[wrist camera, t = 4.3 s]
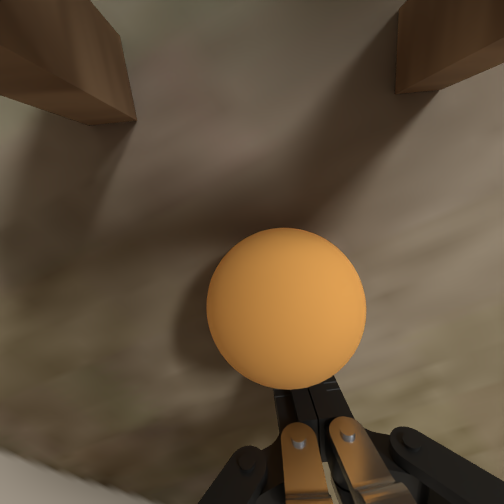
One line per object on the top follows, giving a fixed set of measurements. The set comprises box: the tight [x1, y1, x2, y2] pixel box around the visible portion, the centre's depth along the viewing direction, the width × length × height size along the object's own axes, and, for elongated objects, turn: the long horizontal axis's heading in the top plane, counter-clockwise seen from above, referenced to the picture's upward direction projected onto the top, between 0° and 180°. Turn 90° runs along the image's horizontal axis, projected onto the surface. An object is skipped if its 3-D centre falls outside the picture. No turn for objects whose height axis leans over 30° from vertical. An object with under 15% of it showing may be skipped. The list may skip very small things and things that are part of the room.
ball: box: [206, 228, 366, 390], centre depth 10 cm, size 6×6×6 cm
